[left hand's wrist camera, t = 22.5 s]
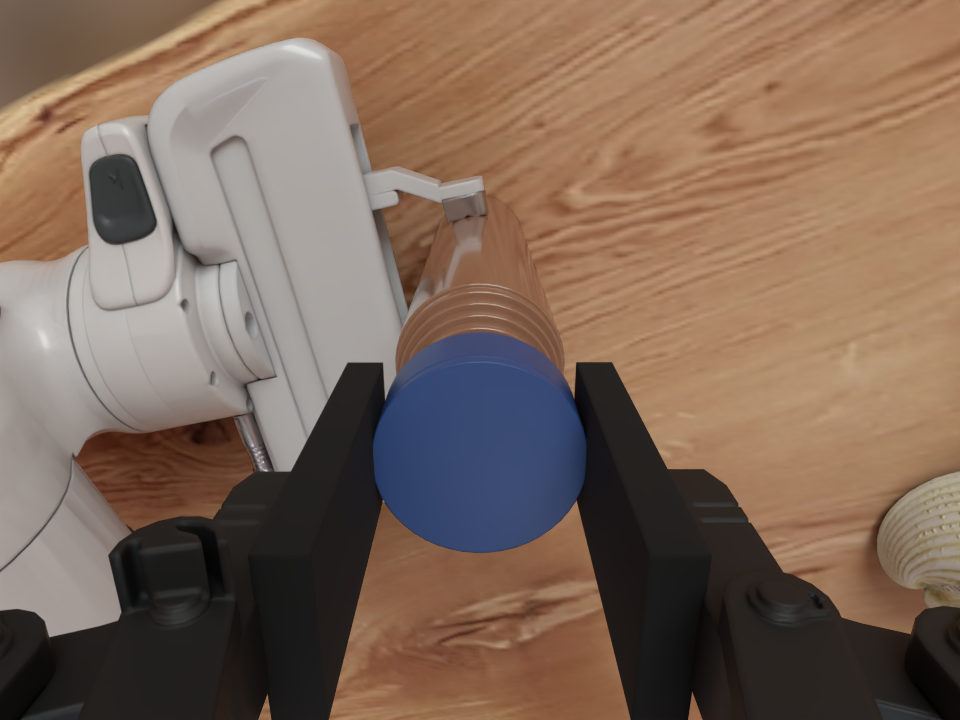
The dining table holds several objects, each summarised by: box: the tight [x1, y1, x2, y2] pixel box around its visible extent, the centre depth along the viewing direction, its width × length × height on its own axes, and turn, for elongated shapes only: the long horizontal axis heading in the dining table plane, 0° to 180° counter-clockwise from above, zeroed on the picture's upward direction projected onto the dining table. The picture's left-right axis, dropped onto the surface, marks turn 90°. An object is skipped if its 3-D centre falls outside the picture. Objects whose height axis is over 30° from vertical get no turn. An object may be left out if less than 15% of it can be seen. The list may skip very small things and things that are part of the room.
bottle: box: [395, 196, 564, 375], centre depth 24 cm, size 4×4×23 cm
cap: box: [373, 332, 587, 553], centre depth 14 cm, size 4×4×2 cm
